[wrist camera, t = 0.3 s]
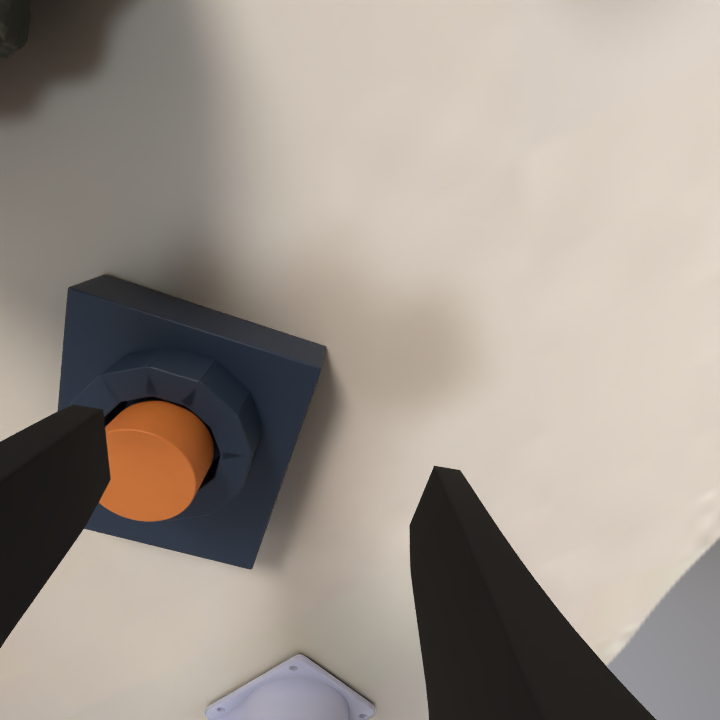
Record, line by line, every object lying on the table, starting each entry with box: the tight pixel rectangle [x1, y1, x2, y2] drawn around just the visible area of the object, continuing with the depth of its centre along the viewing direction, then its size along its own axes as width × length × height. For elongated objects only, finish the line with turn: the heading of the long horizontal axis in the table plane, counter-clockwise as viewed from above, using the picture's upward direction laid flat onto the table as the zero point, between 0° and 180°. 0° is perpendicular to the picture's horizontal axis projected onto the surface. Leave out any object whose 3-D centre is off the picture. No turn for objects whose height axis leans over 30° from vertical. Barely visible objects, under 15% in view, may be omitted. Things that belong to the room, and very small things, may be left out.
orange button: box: [99, 400, 214, 522], centre depth 16 cm, size 4×4×2 cm
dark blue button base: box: [58, 275, 326, 569], centre depth 19 cm, size 12×10×4 cm
